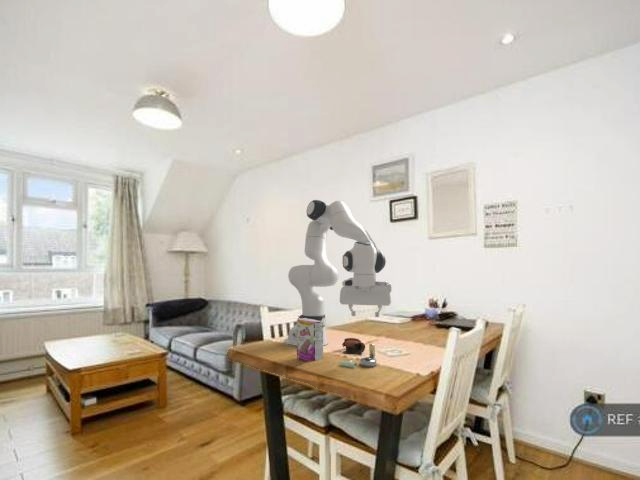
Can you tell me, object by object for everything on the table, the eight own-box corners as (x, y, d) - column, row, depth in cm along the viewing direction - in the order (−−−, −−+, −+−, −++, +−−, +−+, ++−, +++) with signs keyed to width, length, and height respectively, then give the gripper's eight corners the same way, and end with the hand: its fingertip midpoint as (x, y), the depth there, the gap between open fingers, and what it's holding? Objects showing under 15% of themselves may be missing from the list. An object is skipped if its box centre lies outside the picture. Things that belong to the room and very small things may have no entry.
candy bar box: (296, 359, 135) (296, 319, 137) (305, 356, 139) (305, 317, 140) (314, 364, 127) (314, 322, 129) (323, 362, 131) (323, 320, 132)
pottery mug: (336, 357, 140) (338, 338, 144) (350, 363, 145) (351, 344, 150) (358, 354, 132) (360, 334, 137) (372, 360, 138) (373, 341, 142)
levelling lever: (374, 368, 118) (374, 350, 119) (358, 366, 121) (358, 349, 121) (380, 360, 127) (380, 344, 128) (365, 358, 130) (365, 342, 130)
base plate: (331, 370, 120) (331, 361, 120) (353, 358, 136) (352, 349, 136) (388, 381, 109) (388, 370, 109) (405, 366, 125) (404, 357, 125)
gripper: (391, 281, 130) (392, 316, 130) (341, 280, 136) (342, 314, 135) (390, 282, 124) (391, 318, 123) (338, 281, 130) (338, 316, 129)
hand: (365, 316), depth 129 cm, fingers open, 8 cm apart
